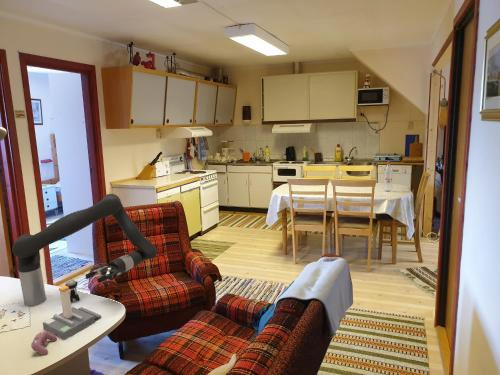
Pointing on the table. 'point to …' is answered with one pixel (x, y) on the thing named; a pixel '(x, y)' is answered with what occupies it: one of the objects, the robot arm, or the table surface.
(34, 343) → the video game controller
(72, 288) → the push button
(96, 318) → the grey long flat bar
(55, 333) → the breaker panel
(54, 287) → the table surface
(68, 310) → the breaker lever
